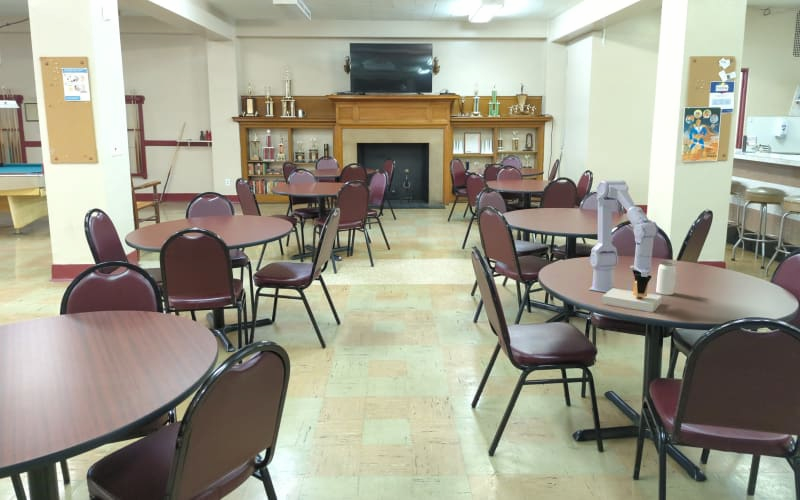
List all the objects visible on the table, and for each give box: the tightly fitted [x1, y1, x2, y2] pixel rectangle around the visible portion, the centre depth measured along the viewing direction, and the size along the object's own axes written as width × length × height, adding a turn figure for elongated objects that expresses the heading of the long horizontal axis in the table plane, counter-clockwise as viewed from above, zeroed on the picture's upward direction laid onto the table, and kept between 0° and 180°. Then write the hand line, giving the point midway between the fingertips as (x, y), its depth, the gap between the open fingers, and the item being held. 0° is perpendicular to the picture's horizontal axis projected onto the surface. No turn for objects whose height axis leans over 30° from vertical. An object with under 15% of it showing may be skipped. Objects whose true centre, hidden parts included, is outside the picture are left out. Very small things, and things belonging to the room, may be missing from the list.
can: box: [655, 261, 677, 296], centre depth 249 cm, size 6×6×12 cm
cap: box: [632, 280, 649, 297], centre depth 230 cm, size 5×5×5 cm
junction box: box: [601, 287, 663, 313], centre depth 234 cm, size 14×18×6 cm
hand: (639, 291), depth 231 cm, fingers closed on cap, 5 cm apart
